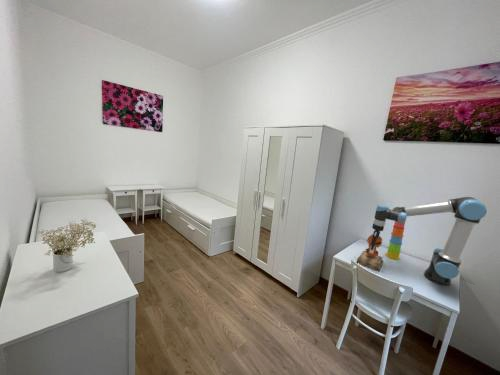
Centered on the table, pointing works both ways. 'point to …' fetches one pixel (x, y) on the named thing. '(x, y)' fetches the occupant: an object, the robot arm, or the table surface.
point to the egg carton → (370, 261)
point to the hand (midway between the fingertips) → (372, 250)
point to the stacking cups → (395, 241)
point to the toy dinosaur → (377, 244)
